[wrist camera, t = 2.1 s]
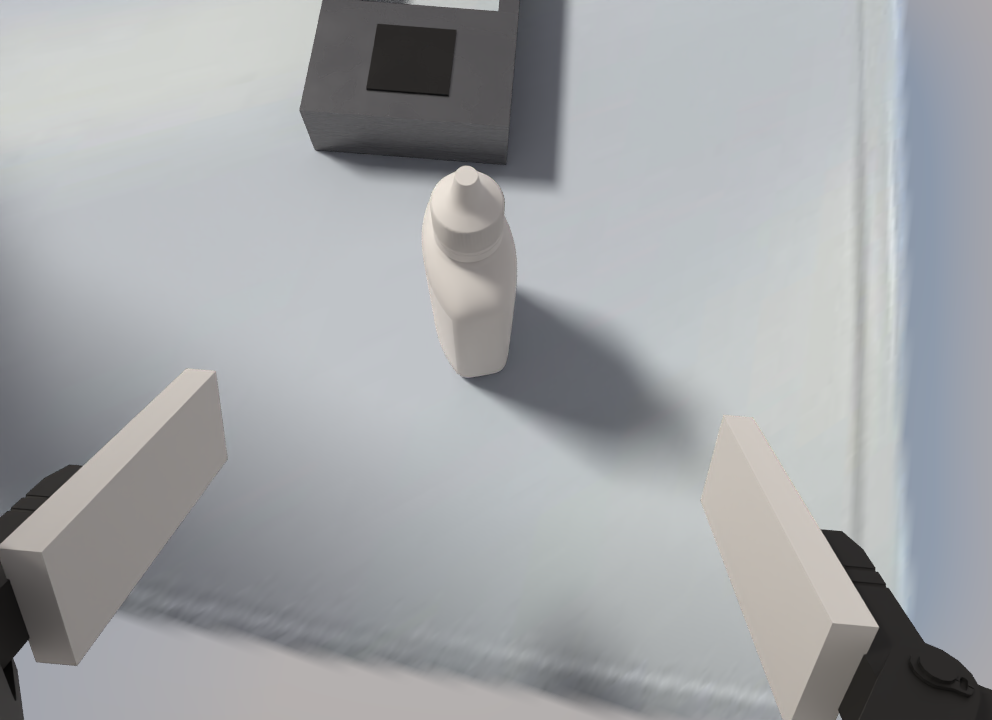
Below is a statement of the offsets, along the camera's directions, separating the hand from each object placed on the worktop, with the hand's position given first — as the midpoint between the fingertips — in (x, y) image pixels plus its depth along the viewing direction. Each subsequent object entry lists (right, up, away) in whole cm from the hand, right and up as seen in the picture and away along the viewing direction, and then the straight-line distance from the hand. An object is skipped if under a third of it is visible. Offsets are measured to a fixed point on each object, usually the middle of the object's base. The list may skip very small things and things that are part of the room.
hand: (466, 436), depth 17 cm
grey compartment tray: (-3, +23, +20) cm, 31 cm away
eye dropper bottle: (0, +4, +14) cm, 15 cm away
